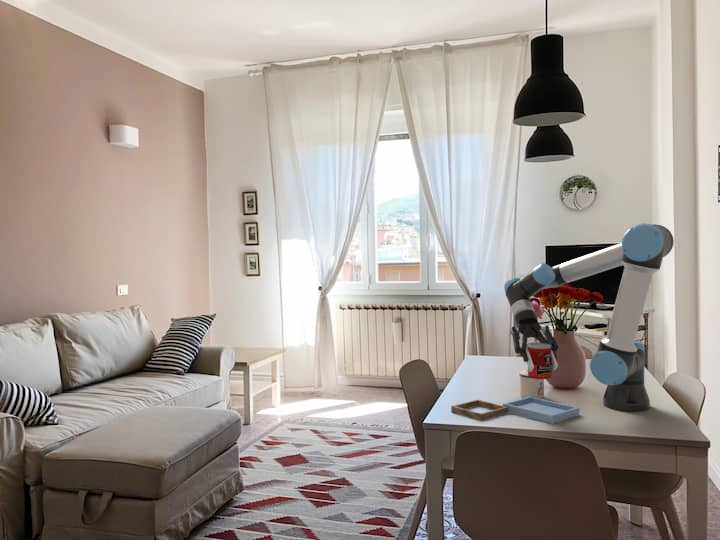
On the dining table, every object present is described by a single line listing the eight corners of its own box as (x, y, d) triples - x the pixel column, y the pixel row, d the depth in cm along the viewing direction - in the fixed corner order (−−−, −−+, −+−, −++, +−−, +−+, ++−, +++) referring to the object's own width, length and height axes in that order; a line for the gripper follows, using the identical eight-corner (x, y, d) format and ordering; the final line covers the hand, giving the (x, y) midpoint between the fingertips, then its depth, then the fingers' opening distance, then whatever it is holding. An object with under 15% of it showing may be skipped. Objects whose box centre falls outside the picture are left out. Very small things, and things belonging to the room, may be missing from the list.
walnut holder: (508, 412, 203) (507, 407, 203) (481, 420, 194) (481, 414, 194) (477, 405, 213) (477, 399, 213) (451, 411, 205) (451, 406, 205)
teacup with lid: (543, 400, 217) (543, 369, 217) (518, 398, 221) (517, 367, 221) (546, 393, 228) (546, 363, 228) (522, 391, 232) (522, 362, 232)
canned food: (539, 380, 196) (539, 347, 196) (522, 376, 203) (522, 344, 203) (556, 377, 200) (556, 345, 199) (539, 373, 207) (539, 342, 206)
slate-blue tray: (579, 415, 198) (579, 407, 198) (552, 423, 189) (552, 416, 189) (529, 403, 214) (529, 396, 214) (502, 410, 205) (502, 403, 205)
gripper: (548, 320, 217) (569, 373, 202) (494, 322, 215) (511, 376, 199) (554, 307, 212) (576, 360, 196) (499, 309, 209) (517, 363, 194)
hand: (543, 368), depth 198 cm, fingers closed on canned food, 8 cm apart
